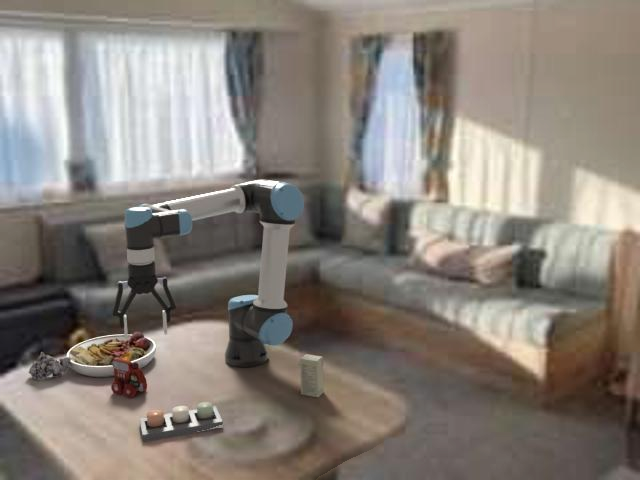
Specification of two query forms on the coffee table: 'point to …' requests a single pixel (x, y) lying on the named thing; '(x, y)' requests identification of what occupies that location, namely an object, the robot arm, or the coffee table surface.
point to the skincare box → (311, 375)
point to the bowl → (110, 353)
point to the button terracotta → (155, 418)
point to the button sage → (205, 410)
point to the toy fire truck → (128, 378)
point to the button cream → (180, 414)
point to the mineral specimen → (48, 367)
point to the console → (179, 426)
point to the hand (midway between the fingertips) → (146, 335)
